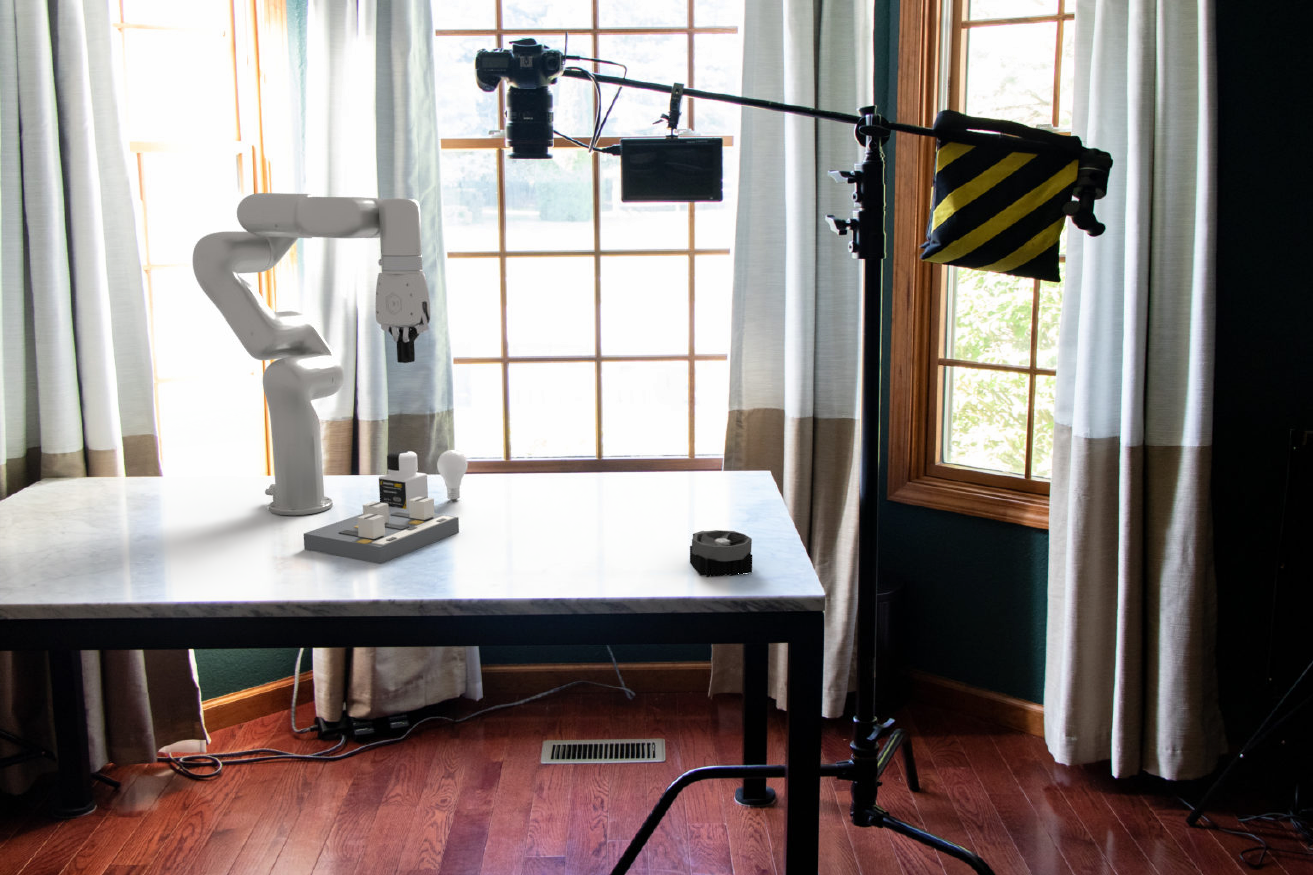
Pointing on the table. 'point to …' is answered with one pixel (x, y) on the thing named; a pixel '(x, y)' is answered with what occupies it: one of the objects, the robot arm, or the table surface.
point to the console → (396, 541)
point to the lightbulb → (452, 471)
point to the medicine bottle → (402, 480)
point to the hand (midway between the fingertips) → (406, 361)
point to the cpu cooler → (721, 553)
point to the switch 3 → (421, 508)
